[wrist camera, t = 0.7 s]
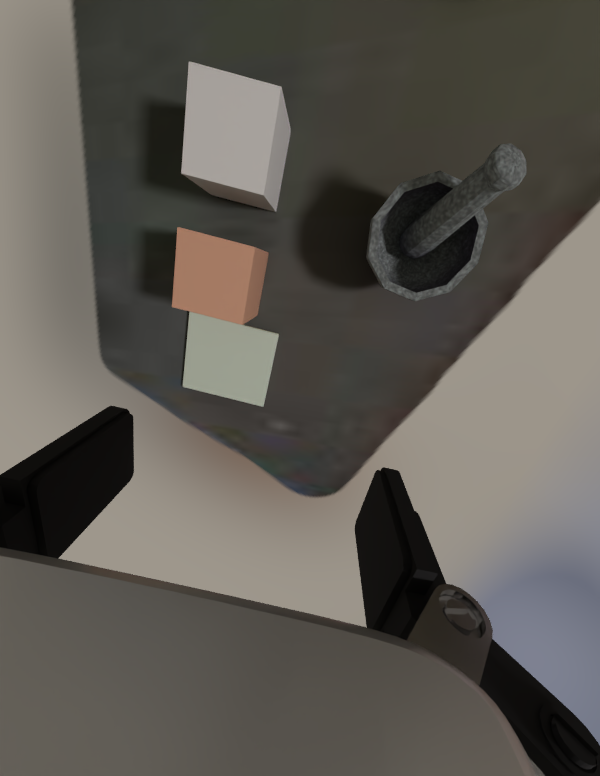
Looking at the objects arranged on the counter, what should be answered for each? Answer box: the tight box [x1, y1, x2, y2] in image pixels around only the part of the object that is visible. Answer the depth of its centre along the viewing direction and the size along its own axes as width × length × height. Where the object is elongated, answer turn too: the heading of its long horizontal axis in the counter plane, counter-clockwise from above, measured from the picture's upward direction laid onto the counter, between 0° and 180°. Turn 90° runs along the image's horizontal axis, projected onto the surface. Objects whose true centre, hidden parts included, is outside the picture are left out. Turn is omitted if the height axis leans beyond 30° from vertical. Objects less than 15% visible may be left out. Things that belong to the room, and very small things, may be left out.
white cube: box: [181, 62, 291, 212], centre depth 26 cm, size 7×7×7 cm
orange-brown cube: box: [172, 227, 269, 325], centre depth 30 cm, size 7×7×7 cm
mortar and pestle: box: [366, 144, 526, 301], centre depth 25 cm, size 11×9×12 cm
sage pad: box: [183, 312, 279, 407], centre depth 37 cm, size 10×11×1 cm
